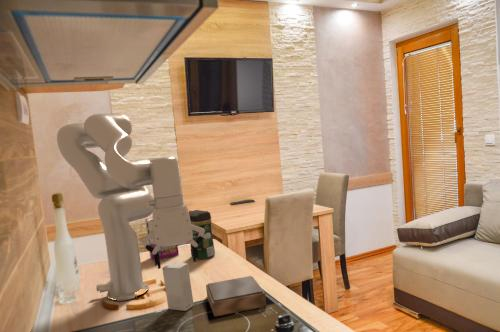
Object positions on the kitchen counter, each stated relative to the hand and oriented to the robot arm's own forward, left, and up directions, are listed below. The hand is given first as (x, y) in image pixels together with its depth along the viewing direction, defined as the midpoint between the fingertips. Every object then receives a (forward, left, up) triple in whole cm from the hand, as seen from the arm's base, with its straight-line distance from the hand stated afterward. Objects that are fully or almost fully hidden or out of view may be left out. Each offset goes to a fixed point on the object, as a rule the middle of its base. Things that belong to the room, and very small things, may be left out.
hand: (177, 264), depth 109 cm
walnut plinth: (+15, -2, -12) cm, 19 cm away
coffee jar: (+12, +47, -13) cm, 50 cm away
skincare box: (0, +1, -13) cm, 13 cm away
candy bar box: (-3, +56, -13) cm, 57 cm away
